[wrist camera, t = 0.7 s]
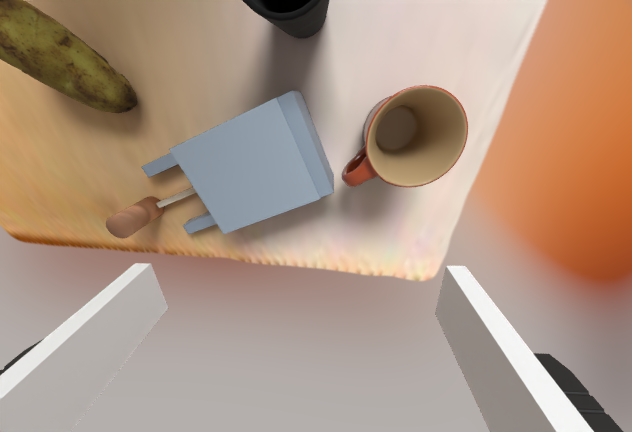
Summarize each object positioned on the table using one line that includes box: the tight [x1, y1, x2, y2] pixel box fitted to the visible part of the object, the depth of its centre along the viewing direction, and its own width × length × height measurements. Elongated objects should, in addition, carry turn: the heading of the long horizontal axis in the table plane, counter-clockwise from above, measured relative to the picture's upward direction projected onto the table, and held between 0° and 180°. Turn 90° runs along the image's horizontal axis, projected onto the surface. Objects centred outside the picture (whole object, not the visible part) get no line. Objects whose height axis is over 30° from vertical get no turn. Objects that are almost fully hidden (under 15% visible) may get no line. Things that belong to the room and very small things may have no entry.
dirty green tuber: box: [0, 0, 137, 113], centre depth 27 cm, size 8×13×8 cm, turn 28°
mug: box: [342, 85, 468, 187], centre depth 27 cm, size 12×9×10 cm
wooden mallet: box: [106, 187, 196, 238], centre depth 33 cm, size 5×25×7 cm, turn 113°
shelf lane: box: [141, 91, 334, 234], centre depth 31 cm, size 11×24×8 cm, turn 113°
